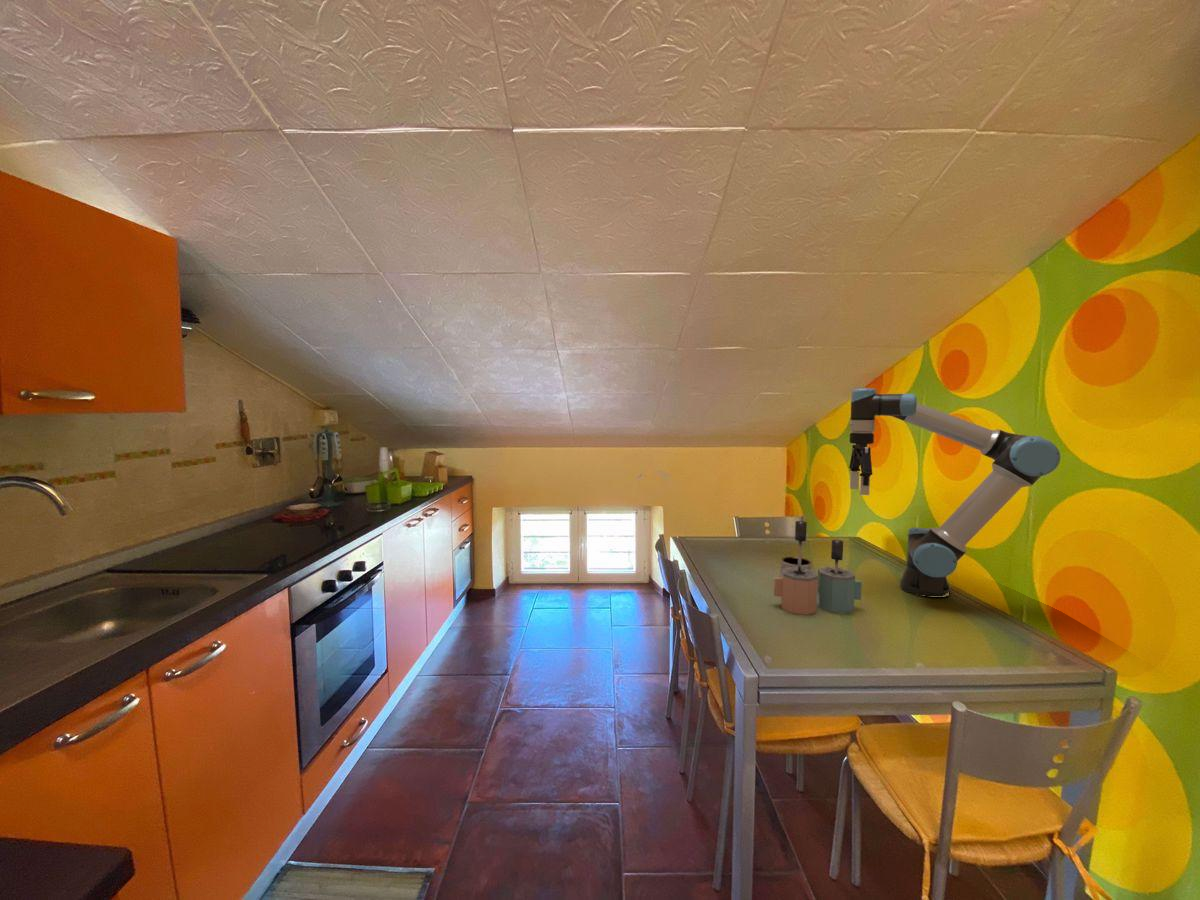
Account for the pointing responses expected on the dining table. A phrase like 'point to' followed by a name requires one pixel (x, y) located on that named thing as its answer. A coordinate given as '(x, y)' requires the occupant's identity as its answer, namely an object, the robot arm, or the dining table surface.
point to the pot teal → (837, 590)
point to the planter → (794, 563)
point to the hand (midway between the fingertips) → (859, 491)
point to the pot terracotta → (797, 590)
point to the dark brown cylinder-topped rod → (837, 552)
